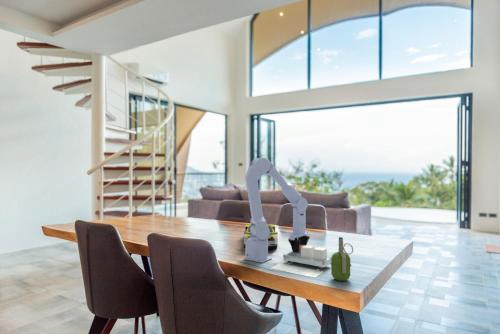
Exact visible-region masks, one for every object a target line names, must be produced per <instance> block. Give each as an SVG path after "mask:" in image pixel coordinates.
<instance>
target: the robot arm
mask: <svg viewBox="0 0 500 334" xmlns="http://www.w3.org/2000/svg"><path fill="white" fill-rule="evenodd" d="M263 175H267V176H269V177H271V178H272V179H273V181H274V182H276V184H277V185H278V186H279V187H280V188H281V194H283V195H284V197H285V198H286V199H287V200H288V201H289V202H290V206H291V207H292V233H291V234H290V235H289V238H288V240H287V241H288V243H289V244H290V248H291V252H297V253H299V246H300V245H306V246H308V245H307V244H308V241H309V240H310V236H309V230H306V226H307V225H306V222H307V221H306V218H307V217H306V216H307V215H306V213H307V211H306V210H307V209H308V207H309V203H308V200H307V199H306V198H305V197H304V196H302V193H301V192H299V191H298V190H297V188H296V185H295V184H292V183H288V182H287V181H286V179H285V178H284V177H283V176H282V174H281V173H280V172H279V171H278V169H277V168H276V167H275V165H274V164H273V163H272V162H271V161H270V159H269V158H267V157H258V158H254V159H253V160H252V161H251V162H250V163H249V164H248V169H247V171H246V173H245V177H244V179H245V186H246V191H247V197H248V204H249V210H250V216H251V218H250V225H251V226H250V232H251V234H252V237H251V238H248V239H247V241H246V245H245V248H244V252H245V256H244V258H243V259H244V260H245V261H246V260H247V261H252V262H256V263H261V264H263V263H264V262H267V261H270V260H273V259H272V257H270V256H269V250H268V237H269V235H270V230H269V228H268V226H267V224H268V223H267V221H266V219H265V217H264V211H263V206H262V200H261V193H260V187H259V182H258V181H259V179H260V178H262V176H263Z"/></svg>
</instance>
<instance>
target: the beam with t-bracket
mask: <svg viewBox="0 0 500 334" xmlns="http://www.w3.org/2000/svg"><path fill="white" fill-rule="evenodd" d="M282 257H283V260H284V261H287V264H288V263H291V262H292V261H293V263H299V264H305V265H311V266H315V267H316V269H320V270H321V269H322V268H321V267H323V268H325V267H327V266H328V265H331V264H330V263H331V257H327V259H326V260H324V261H319V260H313V259H307V258H301V253H297V252H293V251H290V252H287V253H284V254H283V255H282ZM291 264H292V263H291Z"/></svg>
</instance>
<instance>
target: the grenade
mask: <svg viewBox="0 0 500 334" xmlns="http://www.w3.org/2000/svg"><path fill="white" fill-rule="evenodd" d="M346 245H349V246H350V247H351V252H350V253H348V252H347V251H346V249H345V246H346ZM353 253H354V247H353V246H352V244H351V243H349V242H347V243H344V237H342V236H339V237H338V251H337V252H336V251H335V252H334V253H333V254H332V255H331V257H330V258H331V263H330V264H329V265H331V266H330V267H331V268H330V270H331V271H330V273H331V277H332V278H333V279H335V280H336V281H339V282H345V281H347V280H349V279H350V277H351V267H352V264H351V258H350V255H351V254H353Z"/></svg>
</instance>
